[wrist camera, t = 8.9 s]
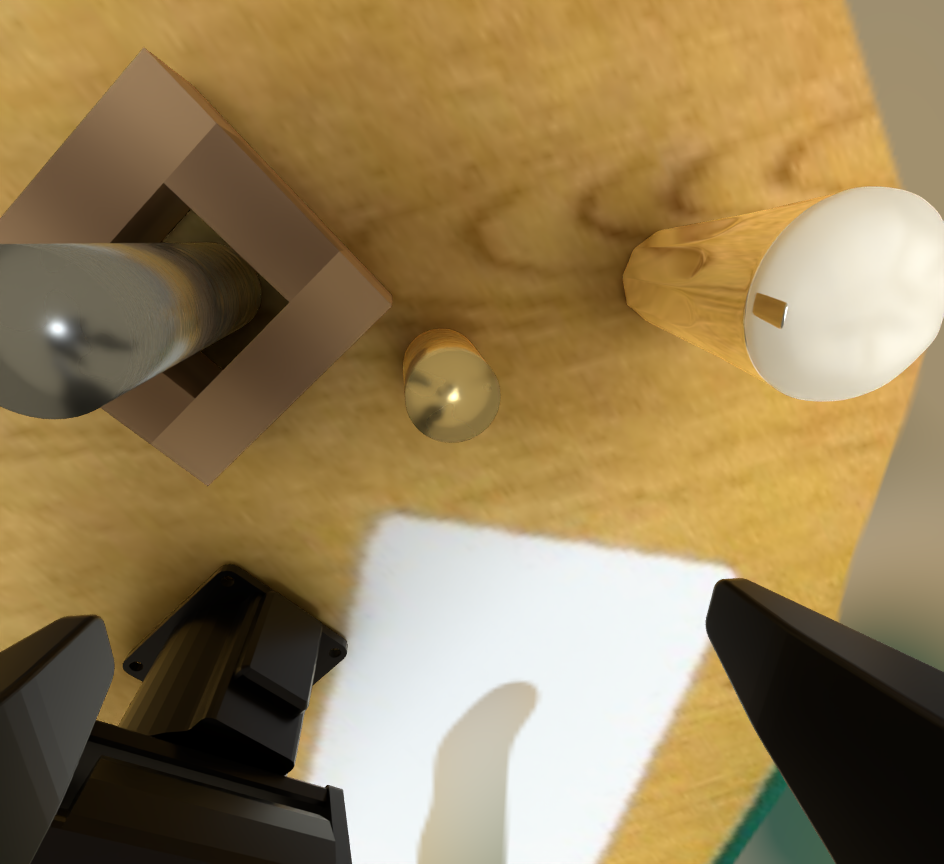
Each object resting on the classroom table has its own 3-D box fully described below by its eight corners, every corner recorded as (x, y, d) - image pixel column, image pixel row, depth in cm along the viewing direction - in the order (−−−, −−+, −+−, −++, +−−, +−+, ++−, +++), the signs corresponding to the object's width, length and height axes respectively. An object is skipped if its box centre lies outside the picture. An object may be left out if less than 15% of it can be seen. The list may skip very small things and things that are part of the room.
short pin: (439, 418, 19) (450, 460, 15) (386, 365, 18) (384, 397, 14) (494, 367, 19) (519, 398, 15) (443, 311, 18) (456, 330, 14)
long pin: (223, 348, 17) (62, 450, 9) (150, 286, 16) (-110, 333, 8) (279, 290, 17) (167, 339, 8) (208, 222, 16) (0, 202, 7)
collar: (235, 449, 18) (207, 486, 16) (20, 280, 16) (-61, 290, 13) (392, 295, 17) (391, 306, 14) (191, 84, 14) (143, 47, 12)
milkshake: (588, 207, 17) (817, 168, 8) (732, 210, 18) (1093, 179, 9) (577, 340, 19) (755, 436, 10) (709, 338, 20) (993, 426, 10)
